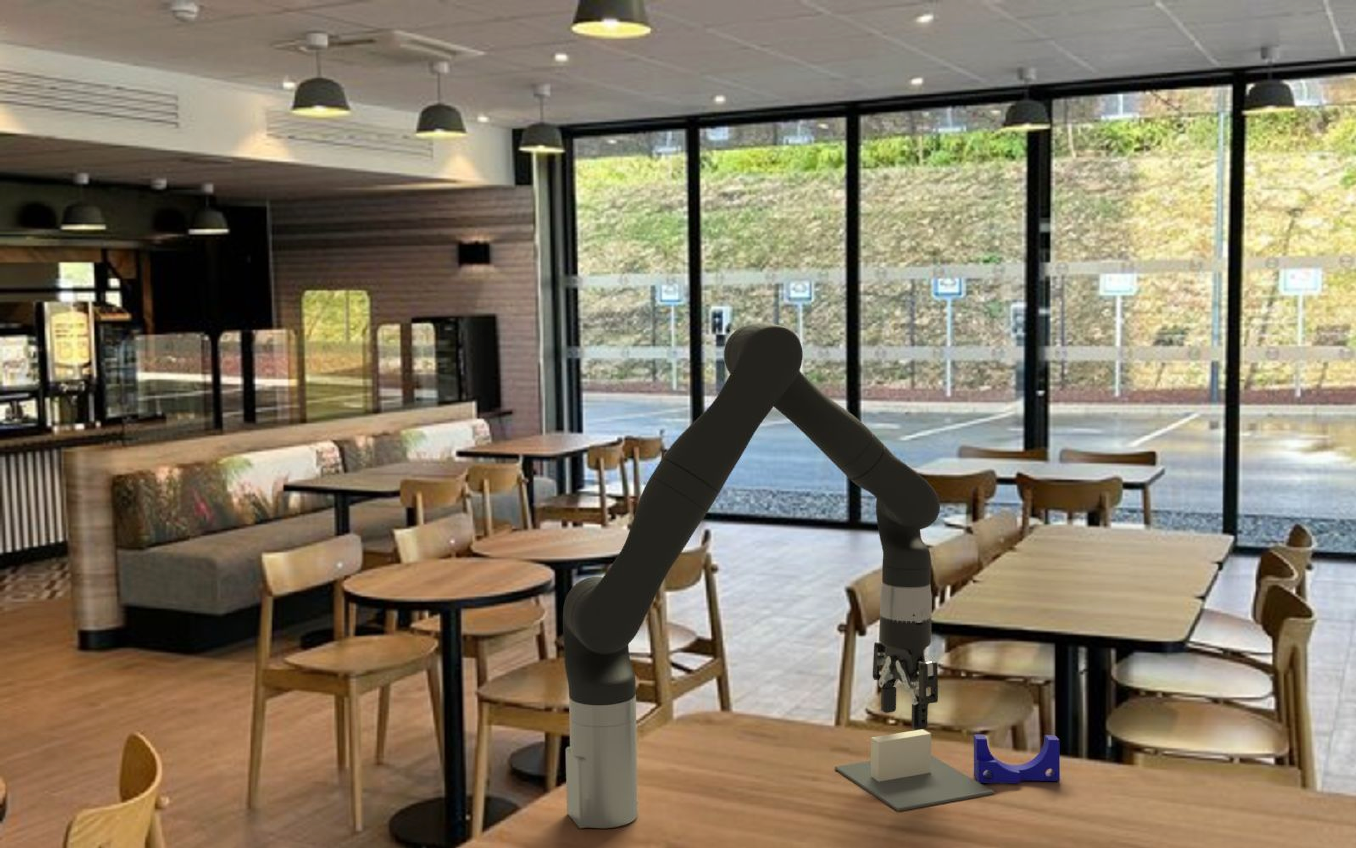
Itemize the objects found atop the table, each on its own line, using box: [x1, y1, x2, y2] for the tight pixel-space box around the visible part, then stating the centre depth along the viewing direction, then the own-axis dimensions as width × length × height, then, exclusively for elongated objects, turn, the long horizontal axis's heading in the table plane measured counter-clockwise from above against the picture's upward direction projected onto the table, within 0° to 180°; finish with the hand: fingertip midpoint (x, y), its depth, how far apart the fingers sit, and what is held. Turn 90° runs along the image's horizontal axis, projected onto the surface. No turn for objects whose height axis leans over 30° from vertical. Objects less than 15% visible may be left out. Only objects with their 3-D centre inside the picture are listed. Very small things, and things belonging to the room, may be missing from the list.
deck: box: [870, 729, 932, 782], centre depth 197 cm, size 9×2×6 cm, turn 112°
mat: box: [834, 755, 995, 812], centre depth 195 cm, size 16×18×1 cm
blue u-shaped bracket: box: [973, 733, 1061, 784], centre depth 195 cm, size 12×4×6 cm, turn 86°
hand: (903, 720), depth 196 cm, fingers open, 8 cm apart
